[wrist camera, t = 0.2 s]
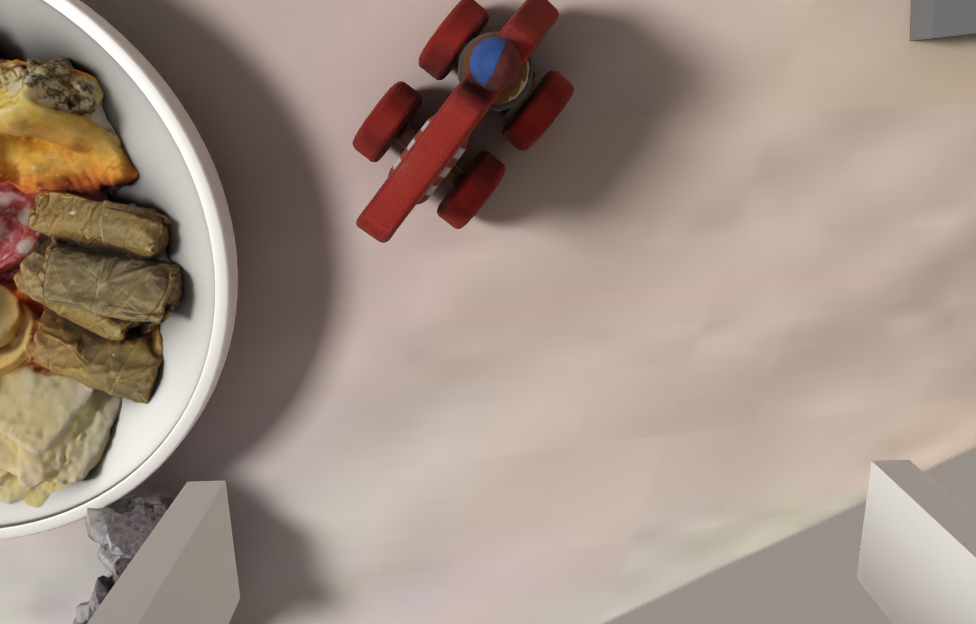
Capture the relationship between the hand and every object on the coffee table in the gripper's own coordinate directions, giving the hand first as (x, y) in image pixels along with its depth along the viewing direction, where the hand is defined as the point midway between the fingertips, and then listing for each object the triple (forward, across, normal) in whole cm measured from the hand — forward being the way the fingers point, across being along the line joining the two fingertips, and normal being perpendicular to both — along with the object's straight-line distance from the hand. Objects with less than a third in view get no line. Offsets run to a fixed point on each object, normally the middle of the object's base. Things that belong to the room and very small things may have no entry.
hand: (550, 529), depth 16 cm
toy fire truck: (+28, -2, +7) cm, 29 cm away
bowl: (+28, -28, +1) cm, 40 cm away
